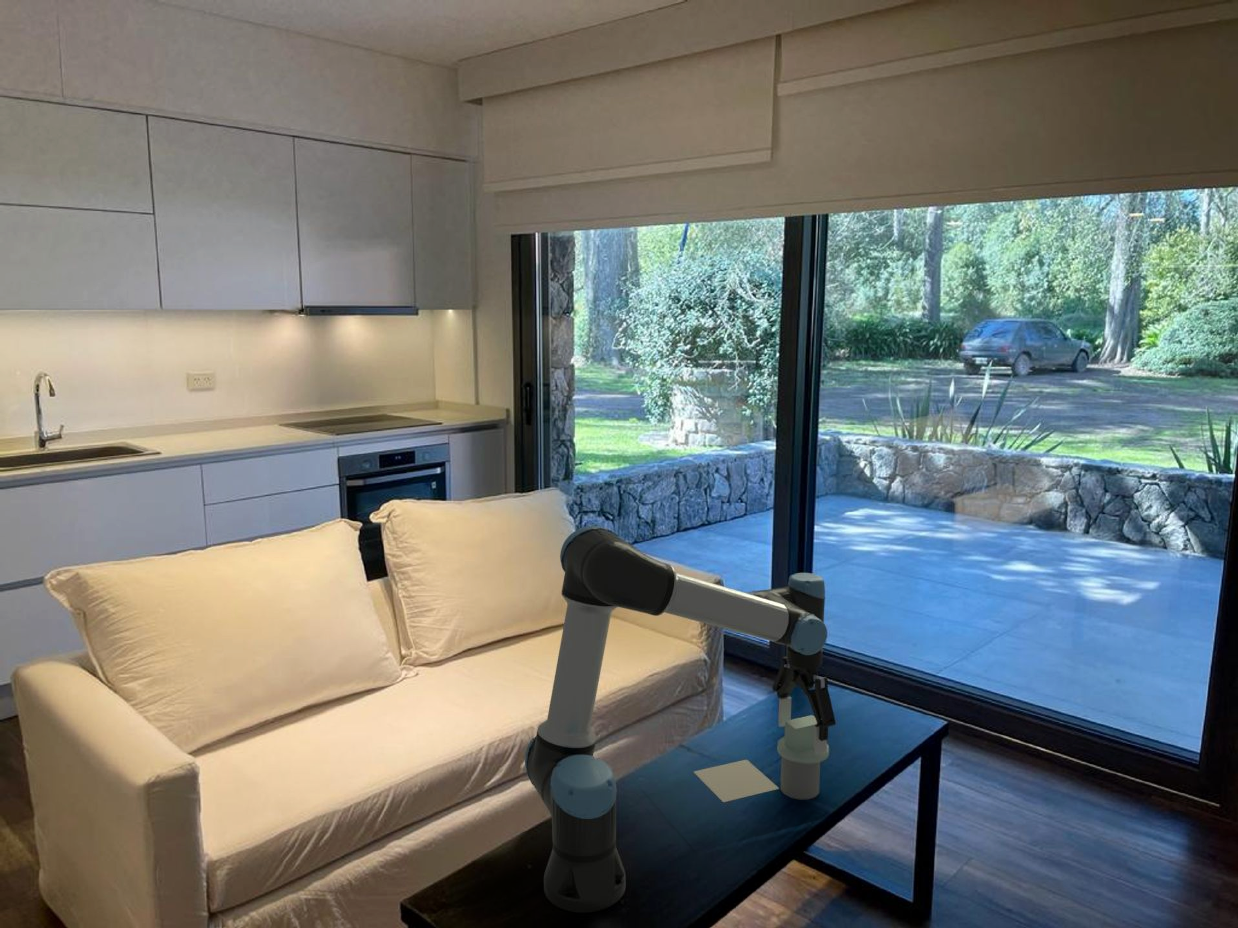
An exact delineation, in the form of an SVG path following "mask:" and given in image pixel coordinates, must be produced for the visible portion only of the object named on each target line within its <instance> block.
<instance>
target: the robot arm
mask: <svg viewBox="0 0 1238 928" xmlns="http://www.w3.org/2000/svg"><path fill="white" fill-rule="evenodd" d="M559 554H560V555H559V557H560V558H559V559H560V565H561V568H562V570H563V572H564V576H563V582H562V588H561V596H562V598H563V600H565V602H566V603H567V606H566V611H565V616H564V622H563V627H562V634H561V640H560V645H559V652H558V657H557V662H556V669H555V673H554V678H553V679H554V680H553V685H552V691H551V696H550V702H549V707H548V712H547V718H546V720H544V721H543V722H541V723H540V724H539V725H538V726H537V729H536V730H537V731H536V735H535V737H532V739H531V740H530V741H529V743H528V744H527V747H526V749H525V754H524V766H525V770H526V774H527V776H528V779H529V781H530V782H531V785H532V786H533V787H534V788H535V790H536V792H537V794H538V795H539V797H540V799H541V800H542V802H543V803H544V805H545V807H546V809H547V810H548V812H549V813H550V817H551V825H552V827H551V828H552V829H551V830H552V831H551V832H552V833H551V835H552V850H551V853H550V856H549V859H548V862H547V864H546V866H545V867H546V868H545V870H544V875H543V892H544V895H545V897H546V898H547V900H548V901H549V902H550V903H551V904H553V905H554V906H555V907H558V908H559V909H561V910H564V911H567V912H573V913H583V914H584V913H594V912H598V911H602V910H604V909H607V908H610V907H613V905H614V904H616V903H617V902H619V901H620V900H621V898H622V897H623V895H624V894H625V891H626V885H627V884H626V871H625V868H624V865H623V861H622V859H621V857H620V855H619V851H618V849H617V840H616V839H617V793H618V791H617V784H616V775H615V773H614V770H613V769H612V768H611V766H610V765H609V764H608V763H607V762H605V761H604V760H603V759H602V758H601V759H600V758H595V757H594V754H595V747H596V743H597V736H596V733H595V732H594V731H593V729H592V728H591V725H592V719H593V715H594V710H595V709H594V708H595V704H596V703H595V702H596V699H597V692H598V689H599V682H600V677H601V671H602V666H603V661H604V654H605V648H606V644H607V638H608V633H609V628H610V627H609V626H610V621H611V616H612V612H613V611H614V610H615V609H617V608H622V609H625V610H630V611H635V612H638V613H642V614H647V615H650V616H654V617H658V616H662V615H663V614H664V613H665V614H669V615H673V616H677V617H681V618H683V619H686V620H687V619H688V620H690V621H695V622H699V623H703V624H707V625H710V626H713V627H718V628H721V629H725V630H729V631H732V632H735V633H739V634H743V635H747V636H751V637H755V638H758V639H760V640H761V639H762V640H766V641H770V642H772V643H775V644H780V645H782V646H786V656H784V657H783V656H782V657H781V660H780V662H781V663H780V668H779V670H778V672H777V675H776V676H775V680H774V683H773V686H772V691H773V692H776V695H777V697H778V703H777V704H778V706H777V707H778V718H777V719H778V727H779V728H781V727H783V728H784V727H785V721H788V720H792V719H791V718H792V717H791V716H792V697H791V695H792V692H793V690H794V689H795V688H796V687H799V688H800V689H801V690H803V694H804V695H805V696H806V697H807V698H808V703H809V704H810V707H811V710H812V712H813V716H814V717H815V719H816V721H817V724H815V727H814V754H815V755H816V754H820V753H825V752H826V749H827V744H828V738H829V727H833V726H836V724H837V723H836V722H837V721H836V718H835V715H834V710H833V704H832V700H831V697H830V691H829V683H828V681H829V680H828V678H827V677H826V676H823V677H821V676H820V675H819V672H818V671H819V668H820V667H821V666H822V663H823V649H824V648H823V647H824V646H825V645H826V642H827V639H828V627H827V626H826V624H825V623H824V620H825V619H824V618H825V603H826V602H825V601H826V587H825V579H824V578H822V577H821V576H819V575H817V574H815V573H811V572H797V573H794V574H791V575H790V576H789V578H788V582H787V586H783V587H778V588H777V587H776V588H770V589H761V590H752V591H749V592H743V591H742V590H741V591H740V590H738V589H737V590H736V589H733V588H730V587H727V586H724V585H720V584H716V583H713V582H710V581H707V580H703V579H700V578H696V577H694V576H693V577H692V576H689V575H687V574H683V573H679V572H676V571H675V568H674V567H673V566H672V565H671V564H670V563H666V562H663V561H659V560H657V559H655V558H653V557H651V556H649V555H647V554H645V553H644V552H642V551H641V550H639V549H638V548H636V547H635V546H634V545H633V544H631V543H629V542H627V541H625V540H624V539H623V538H621V537H619V536H618V535H617V534H616V533H615V532H614V531H613V530H610V529H608V528H604V527H602V526H599V525H586V526H583V527H579V528H577V529H576V530H575V531H573V532H572V533H570V534H569V535H568V537H566V539H565V540H564V542H563V544H562V546H561V549H560V553H559Z"/></svg>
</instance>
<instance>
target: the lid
mask: <svg viewBox="0 0 1238 928" xmlns="http://www.w3.org/2000/svg"><path fill="white" fill-rule="evenodd" d="M815 724H817V721H816V719H815V716H814V714H811V715H810V714H809V715H806V716H802V717H797V718H793V719H791V720H788V721H785V726H784V736H783V737H782V736H781V738H780V739H778V741H777V746H776V747H777V753H778V755H779V756H780V757H781V758H782V757H783V758H785V759H787V760H789V761H792V762H796V763H803V764H813V763H818V762H820V763H822V762H824V761H826V760H827V759H828V757H829V756H830V746H829V744H828V743H827V749H826V752H825V753H820V754H816V755H815V754H814V727H815Z"/></svg>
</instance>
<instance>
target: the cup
mask: <svg viewBox="0 0 1238 928" xmlns="http://www.w3.org/2000/svg"><path fill="white" fill-rule="evenodd" d="M780 763H781V764H780V766H781V768H780V772H781V773H780V791H781V792H782V793H783V794H784V795H785V796H787V797H790V798H791V799H795V800H811V799H815V798H816V797H817V796H818V795H819V794H820V776H821V773H820V772H821V762H818V763H813V764H803V763H796V762H792V761H789V760H787V759H785V758H783V757H782V756H781V761H780Z"/></svg>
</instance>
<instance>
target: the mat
mask: <svg viewBox="0 0 1238 928" xmlns="http://www.w3.org/2000/svg"><path fill="white" fill-rule="evenodd" d="M693 774H695V775H696V776H697V778H699V779H700V781H701V782H702V783H703V784H704V785H706V786H707V787H708V789H709V790H710V791H711V792H712V793H713V794H714V795H716V797H717V798H718V799H719V800H720V801H721V802H722V803H727V802H731V801H735V800H739V799H743V798H747V797H748V798H749V797H752V796H756V795H760V794H763V793H767V792H771V791H776V790H779V789H780V788H779V787H778V786H777V785H776V784H775V783H774V782H773V781H772V780H771V779H769V778H768V777H767V776H766V775H765V774H764V773H763V772H762V771H760V770H759V769H758V768H757V767H756V766H755V765H754V764H752V763H751V762H750V761H749V760H748V759H743V760H738V761H735V762H729V763H725V764H722V765H721V764H719V765H716V766H712V767H706V768H704V769H699V770H694V771H693Z"/></svg>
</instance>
